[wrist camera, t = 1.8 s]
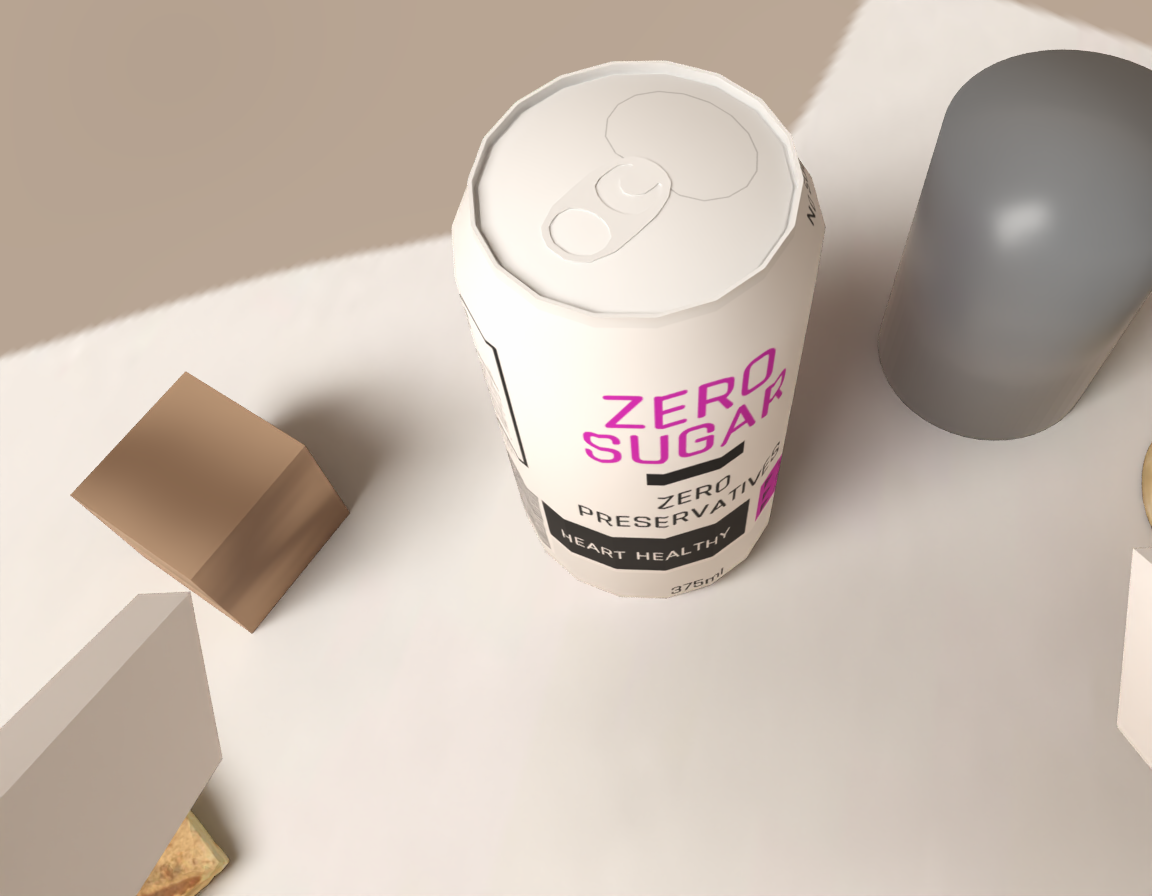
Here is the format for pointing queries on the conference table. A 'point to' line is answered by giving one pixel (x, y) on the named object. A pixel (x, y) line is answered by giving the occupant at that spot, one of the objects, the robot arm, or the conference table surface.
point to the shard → (186, 862)
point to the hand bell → (1147, 484)
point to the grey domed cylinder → (1024, 244)
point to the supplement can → (641, 315)
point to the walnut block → (216, 499)
